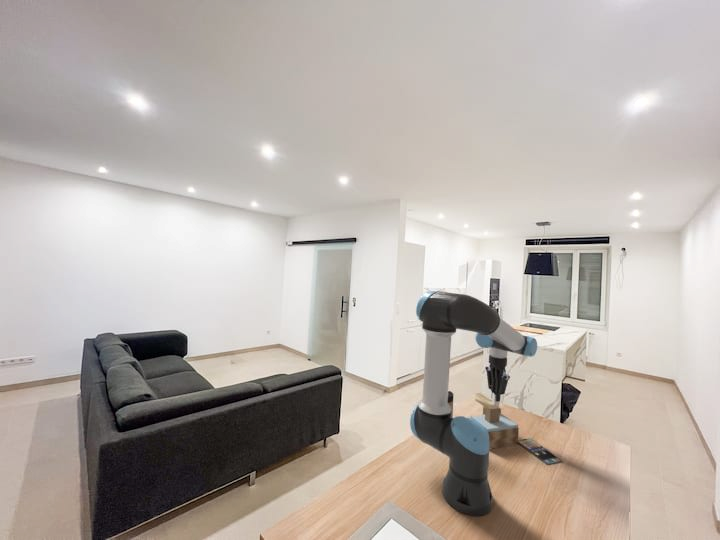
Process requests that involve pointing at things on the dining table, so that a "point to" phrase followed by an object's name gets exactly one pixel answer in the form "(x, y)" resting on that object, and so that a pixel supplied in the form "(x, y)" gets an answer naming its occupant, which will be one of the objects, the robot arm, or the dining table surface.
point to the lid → (494, 419)
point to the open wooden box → (502, 436)
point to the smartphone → (539, 451)
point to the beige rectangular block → (483, 399)
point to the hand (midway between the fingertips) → (495, 407)
